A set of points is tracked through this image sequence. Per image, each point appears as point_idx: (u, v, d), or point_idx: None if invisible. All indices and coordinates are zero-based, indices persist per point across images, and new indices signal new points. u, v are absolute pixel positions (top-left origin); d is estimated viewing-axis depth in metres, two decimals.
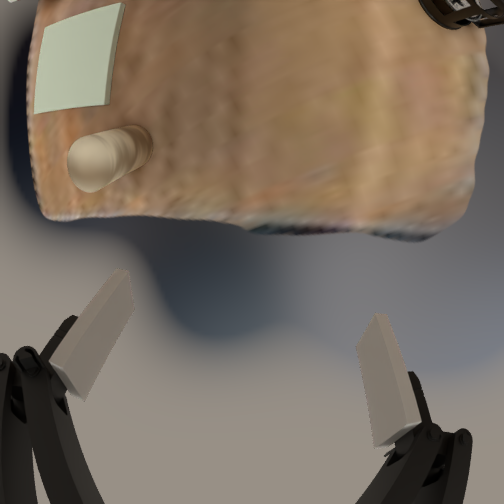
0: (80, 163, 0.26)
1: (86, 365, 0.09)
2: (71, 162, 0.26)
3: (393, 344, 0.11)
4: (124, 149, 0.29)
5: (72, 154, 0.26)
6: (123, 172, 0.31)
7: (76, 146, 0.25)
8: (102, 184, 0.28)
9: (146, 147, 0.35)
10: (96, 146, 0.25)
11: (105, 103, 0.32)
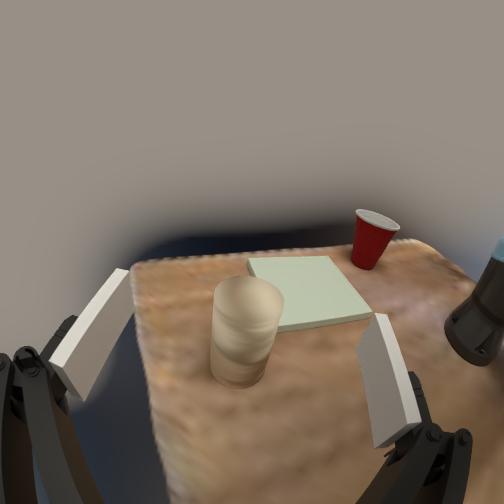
0: (247, 289, 0.28)
1: (86, 365, 0.09)
2: (245, 280, 0.29)
3: (393, 344, 0.11)
4: (264, 344, 0.26)
5: (255, 281, 0.29)
6: (232, 347, 0.26)
7: (266, 284, 0.29)
8: (231, 314, 0.24)
9: (248, 378, 0.29)
10: (275, 305, 0.26)
11: (278, 327, 0.39)
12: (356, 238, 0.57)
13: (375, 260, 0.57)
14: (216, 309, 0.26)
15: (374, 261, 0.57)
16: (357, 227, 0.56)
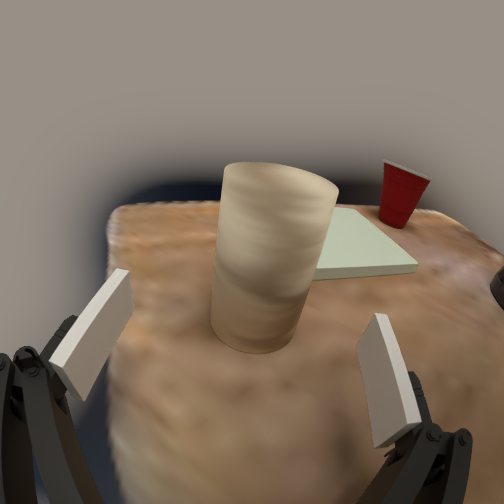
0: (277, 171, 0.17)
1: (86, 365, 0.09)
2: (272, 165, 0.18)
3: (393, 344, 0.11)
4: (308, 258, 0.16)
5: (286, 168, 0.18)
6: (252, 261, 0.15)
7: (304, 172, 0.18)
8: (255, 185, 0.13)
9: (275, 333, 0.18)
10: (326, 187, 0.15)
11: None
12: (385, 190, 0.46)
13: (407, 216, 0.46)
14: (227, 187, 0.15)
15: (406, 217, 0.46)
16: (386, 177, 0.45)
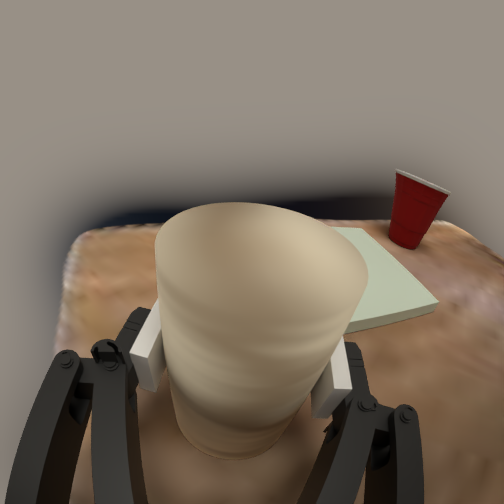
0: (258, 227, 0.10)
1: (161, 355, 0.11)
2: (251, 210, 0.11)
3: None
4: (306, 385, 0.08)
5: (276, 213, 0.11)
6: (212, 396, 0.08)
7: (306, 221, 0.11)
8: (200, 291, 0.06)
9: (257, 447, 0.11)
10: (346, 267, 0.08)
11: None
12: (397, 205, 0.39)
13: (421, 236, 0.39)
14: (158, 276, 0.08)
15: (420, 237, 0.39)
16: (399, 190, 0.38)
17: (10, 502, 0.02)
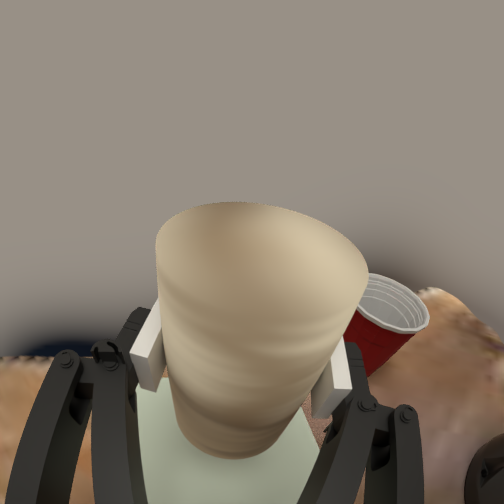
0: (258, 226, 0.10)
1: (161, 355, 0.11)
2: (251, 209, 0.11)
3: None
4: (307, 385, 0.09)
5: (276, 213, 0.11)
6: (212, 396, 0.08)
7: (306, 220, 0.11)
8: (201, 291, 0.06)
9: (257, 446, 0.11)
10: (346, 266, 0.08)
11: None
12: None
13: (374, 369, 0.28)
14: (158, 276, 0.08)
15: (372, 371, 0.29)
16: None
17: (10, 502, 0.02)
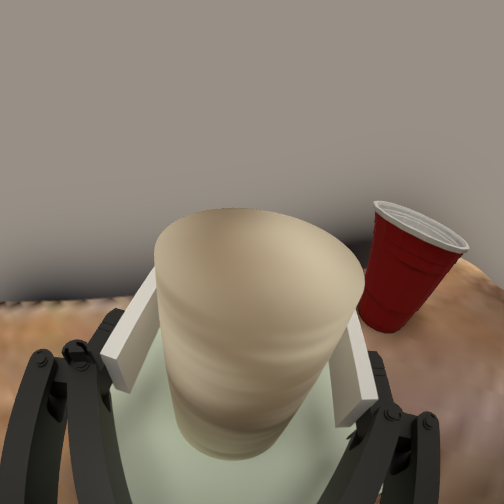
0: (256, 234, 0.10)
1: (134, 357, 0.10)
2: (249, 215, 0.11)
3: (354, 323, 0.12)
4: (303, 389, 0.09)
5: (274, 219, 0.11)
6: (211, 400, 0.08)
7: (304, 226, 0.11)
8: (198, 300, 0.06)
9: (255, 448, 0.11)
10: (342, 273, 0.08)
11: None
12: (373, 268, 0.24)
13: (411, 314, 0.24)
14: (157, 283, 0.08)
15: (408, 317, 0.24)
16: (377, 242, 0.23)
17: None
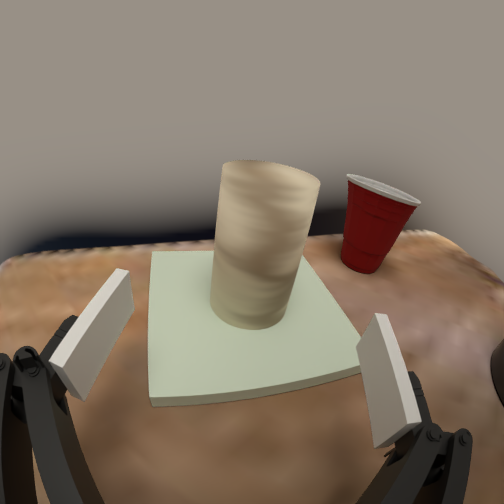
0: (268, 168, 0.20)
1: (86, 365, 0.09)
2: (263, 163, 0.21)
3: (393, 344, 0.11)
4: (294, 241, 0.18)
5: (276, 165, 0.21)
6: (246, 243, 0.18)
7: (292, 168, 0.21)
8: (248, 179, 0.16)
9: (268, 310, 0.21)
10: (309, 181, 0.18)
11: (152, 399, 0.15)
12: (348, 220, 0.34)
13: (380, 257, 0.34)
14: (225, 181, 0.17)
15: (379, 259, 0.34)
16: (349, 201, 0.33)
17: None
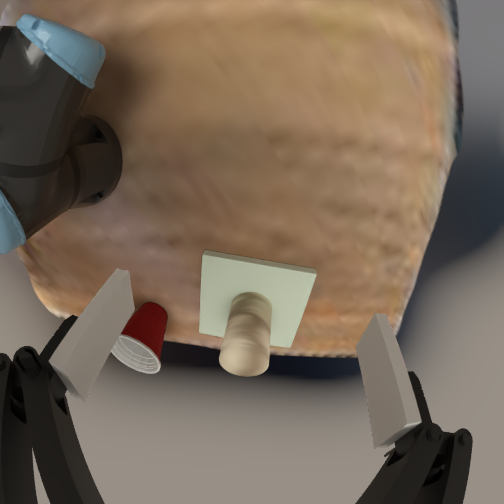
0: (242, 367, 0.37)
1: (86, 365, 0.09)
2: (239, 372, 0.38)
3: (393, 344, 0.11)
4: (241, 327, 0.38)
5: (233, 370, 0.37)
6: (262, 330, 0.38)
7: (226, 367, 0.37)
8: (263, 355, 0.35)
9: (250, 300, 0.43)
10: (228, 353, 0.35)
11: (315, 272, 0.42)
12: (162, 341, 0.47)
13: (145, 309, 0.48)
14: (268, 359, 0.36)
15: (147, 309, 0.48)
16: None
17: None
